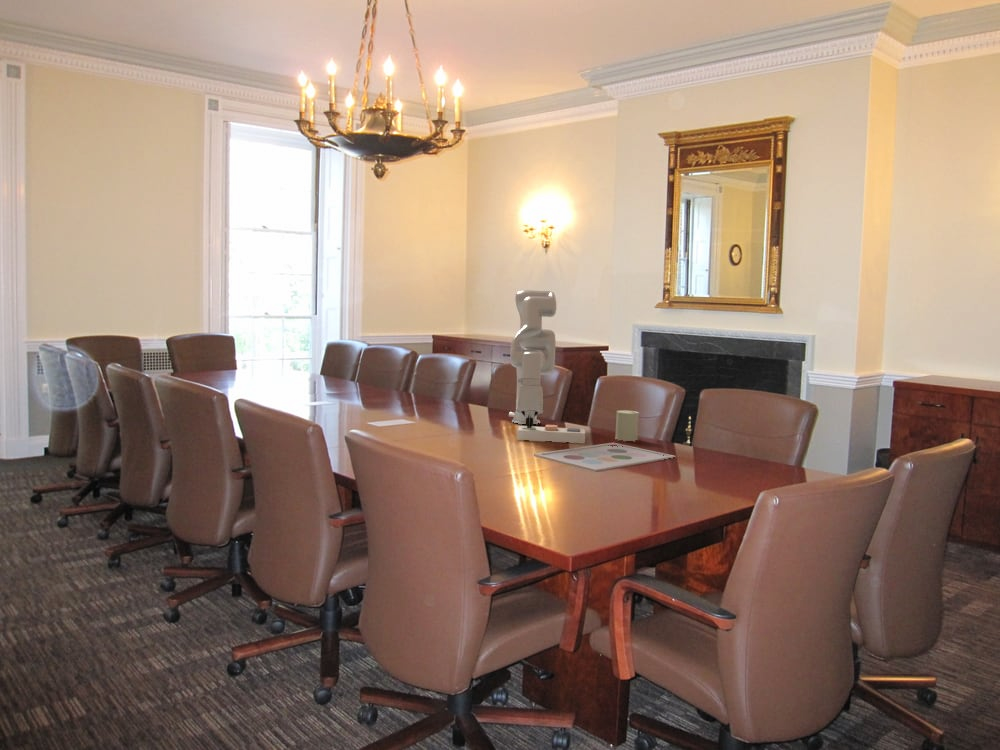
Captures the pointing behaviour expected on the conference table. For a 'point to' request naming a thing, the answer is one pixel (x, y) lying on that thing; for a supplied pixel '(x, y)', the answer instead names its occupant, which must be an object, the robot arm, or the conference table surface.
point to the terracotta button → (551, 427)
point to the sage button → (529, 428)
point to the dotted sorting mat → (604, 456)
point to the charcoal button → (573, 430)
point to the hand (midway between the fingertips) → (529, 427)
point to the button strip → (551, 435)
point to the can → (627, 425)
